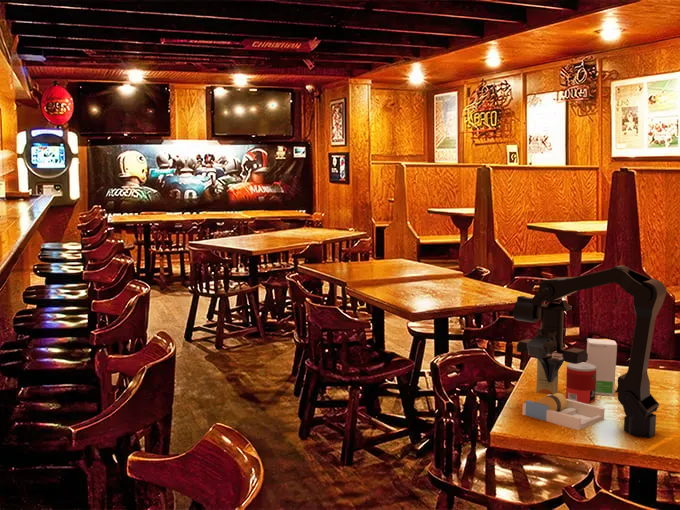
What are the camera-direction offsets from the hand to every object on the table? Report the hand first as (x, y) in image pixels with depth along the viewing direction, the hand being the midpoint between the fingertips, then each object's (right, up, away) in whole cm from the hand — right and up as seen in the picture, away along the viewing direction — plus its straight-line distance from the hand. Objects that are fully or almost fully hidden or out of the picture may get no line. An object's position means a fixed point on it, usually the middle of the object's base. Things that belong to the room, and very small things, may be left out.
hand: (550, 382), depth 206 cm
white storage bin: (+3, -10, -2) cm, 10 cm away
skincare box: (+21, -7, +24) cm, 33 cm away
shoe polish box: (+5, -7, +21) cm, 23 cm away
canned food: (+12, -8, +13) cm, 20 cm away
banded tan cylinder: (0, -8, +1) cm, 8 cm away
